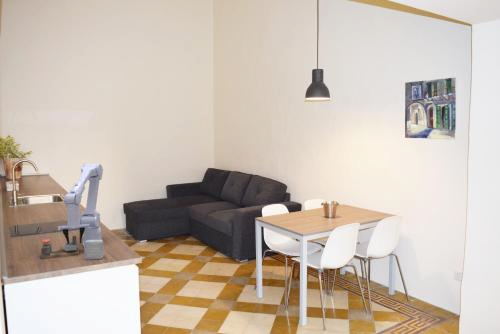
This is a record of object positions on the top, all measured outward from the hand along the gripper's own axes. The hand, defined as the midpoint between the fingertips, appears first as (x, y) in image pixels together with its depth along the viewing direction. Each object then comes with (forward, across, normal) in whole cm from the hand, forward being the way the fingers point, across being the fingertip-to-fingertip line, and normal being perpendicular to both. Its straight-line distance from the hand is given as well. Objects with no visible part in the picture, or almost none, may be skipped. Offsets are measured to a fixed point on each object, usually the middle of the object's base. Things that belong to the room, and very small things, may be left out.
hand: (74, 243), depth 206 cm
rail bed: (+5, -7, 0) cm, 8 cm away
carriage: (+3, -2, 0) cm, 3 cm away
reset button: (-2, -13, 0) cm, 13 cm away
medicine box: (+5, +9, -13) cm, 17 cm away
